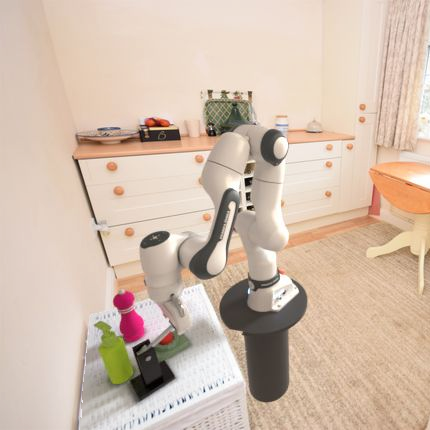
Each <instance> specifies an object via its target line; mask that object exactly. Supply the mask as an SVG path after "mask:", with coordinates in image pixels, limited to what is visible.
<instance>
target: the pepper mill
mask: <svg viewBox="0 0 430 430" xmlns="http://www.w3.org/2000/svg"><path fill="white" fill-rule="evenodd" d="M112 304H113V306H114V307H115V308H116V310H117V313H118V314H119V315H120V322H119V325H118V326H119V327H118V328H119V332H120V334H122V336H123V340H124V342H127V343H134V342H136V341H138V340H140V339H141V338H143V336H144V335H145V334H146V329H145V327H144V326H145V321H144V319H143V317H142V316H141V315H139V314H138V313H137V311H136V309H135V308H136V304H135V295H134V293H132V292H131V291H128V290H125V289H122V288H120V289H119V290H118V291H117V293H116V294H115V295H114V297H113V299H112Z"/></svg>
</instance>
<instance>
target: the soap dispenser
mask: <svg viewBox="0 0 430 430" xmlns="http://www.w3.org/2000/svg"><path fill="white" fill-rule="evenodd" d="M93 327H94V328H96V329H99V330H100V331H101V332H102V335H101V336H100V341H101V344H100V345H99V346H98V352H99V354H100V356H101V360H102V362H103V365H104V368H105V370H106V373H107V375H108V378H109V381H110V383H111V384H113V385H121V384H124V383H126V382H127V381H129V380H131V379H132V376H133V374H134V368H133V364H132V362H131V359H130V355H129V352H128V349H127V347H126V344H125V340H124V337H121V336H117V335H116V332H115V331H113V330H112V329H113V327H112V326H111V325H110V324H108V323H107V322H105V321H102V320H99V321H98V322H96V323H94V324H93Z"/></svg>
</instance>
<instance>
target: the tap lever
mask: <svg viewBox="0 0 430 430" xmlns="http://www.w3.org/2000/svg"><path fill="white" fill-rule="evenodd" d="M168 323H169V324H170V325H169V326H168V327H166V328H165V329H164V330H163V331H162V332H161V333H160V334H159V335H158V336H157V337H156V338H155V339H154V340H153V341H152V342H150V343H151V344H150V345H149V346H146V345H144V346H143V347H142V348H141V349H140V350H139V351H138V352H137V355H139V354H141V353H143V352H145V351H147V350H148V349H150V348H152V347H155V346H156V345H157V344H158V343H159V342H160V341H161V340H162V339H163V338H164V337H165V336H166V335H167V334H168V333H169V332H171V331H174V330H176V328H175V327H174V325H173V324H172V323H171V322H170V320H169V319H168Z"/></svg>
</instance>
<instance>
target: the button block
mask: <svg viewBox="0 0 430 430" xmlns="http://www.w3.org/2000/svg"><path fill="white" fill-rule="evenodd" d="M171 333H172V335H173V340H172V342H171V343H169V344H166V345H161V344H160V342H159V343H158V344H157V345H156V346H155V347H154V348H155V351H156V354H157V358H158V361H159V363H160V362H162V361H163V360H165V361H166V360H168V359H169V358H171V357H173V356H174V355H176V354H177V353H179V352H181V351H182V350H184V349H186V348H188V347H189V346H191V345H190V341H189V339H188V338H187V336H186V335H185V333H183V334H181V335H178V334H177V332H176V330H175V329H173V330H172V331H171Z"/></svg>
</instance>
